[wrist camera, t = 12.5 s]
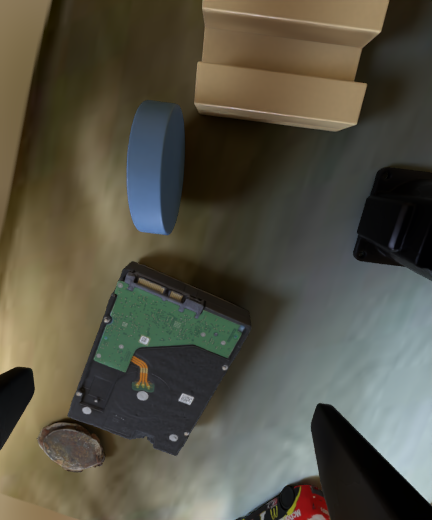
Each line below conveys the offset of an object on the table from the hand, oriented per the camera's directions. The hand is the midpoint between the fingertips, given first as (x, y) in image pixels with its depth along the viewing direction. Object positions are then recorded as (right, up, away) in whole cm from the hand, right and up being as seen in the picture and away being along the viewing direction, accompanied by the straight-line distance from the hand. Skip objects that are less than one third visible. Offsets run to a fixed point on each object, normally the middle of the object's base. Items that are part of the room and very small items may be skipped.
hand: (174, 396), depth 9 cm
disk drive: (-4, -4, +15) cm, 16 cm away
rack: (+5, +18, +8) cm, 20 cm away
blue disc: (-2, +10, +10) cm, 15 cm away
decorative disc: (-13, -14, +19) cm, 27 cm away
